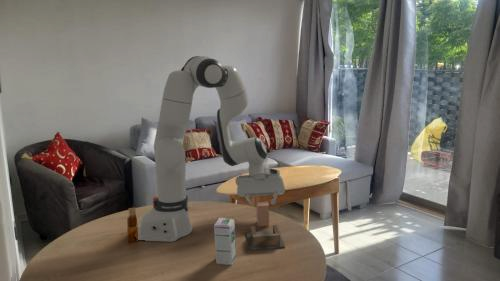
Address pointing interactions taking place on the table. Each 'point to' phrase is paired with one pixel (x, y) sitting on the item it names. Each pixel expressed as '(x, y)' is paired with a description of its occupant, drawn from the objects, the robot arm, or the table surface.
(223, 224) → the syrup box
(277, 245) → the stop cradle
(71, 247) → the table surface
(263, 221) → the block
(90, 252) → the table surface
